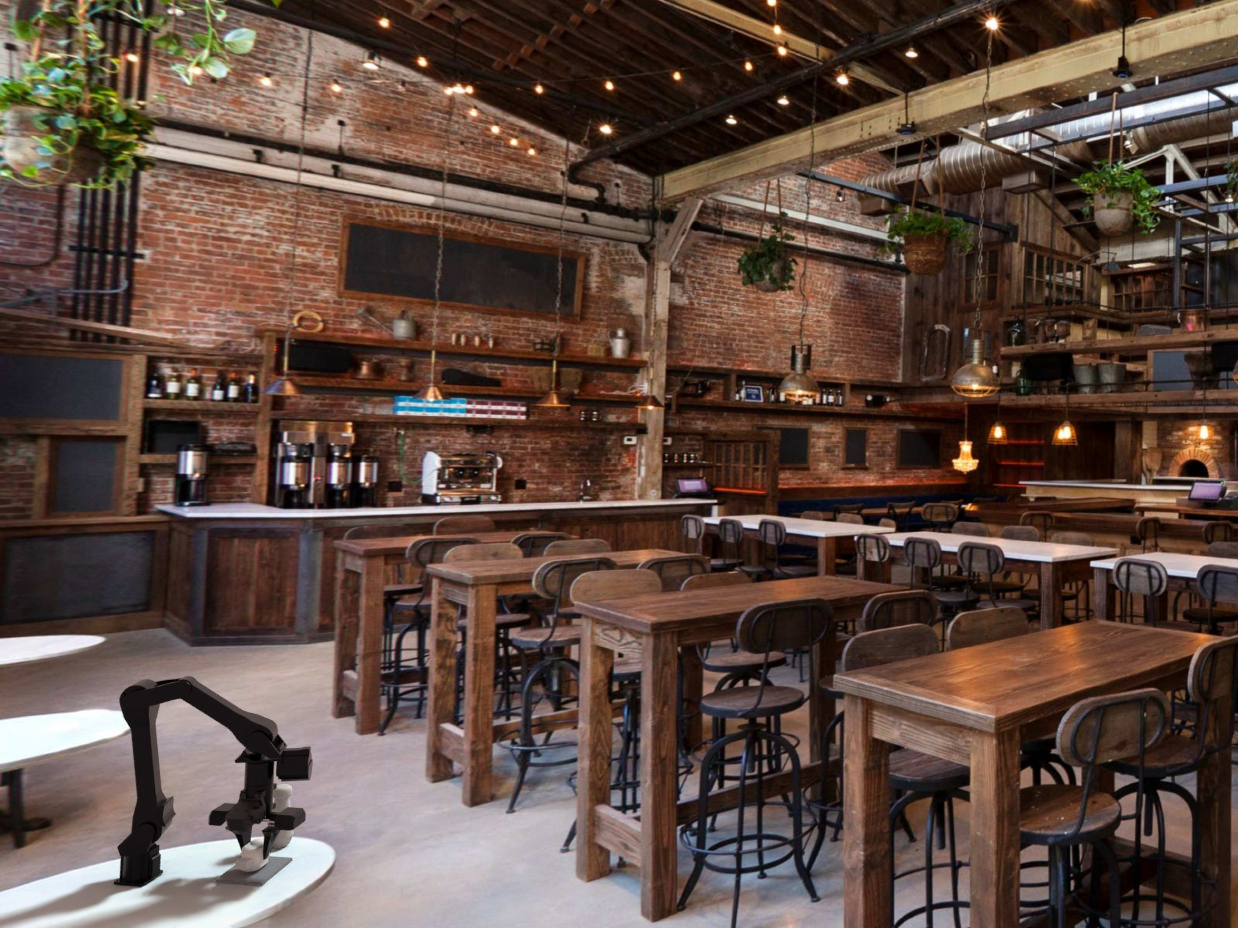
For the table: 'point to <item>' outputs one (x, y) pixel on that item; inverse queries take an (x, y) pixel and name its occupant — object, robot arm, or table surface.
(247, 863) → the plug
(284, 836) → the salt shaker
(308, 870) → the table surface
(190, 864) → the table surface
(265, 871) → the coaster
